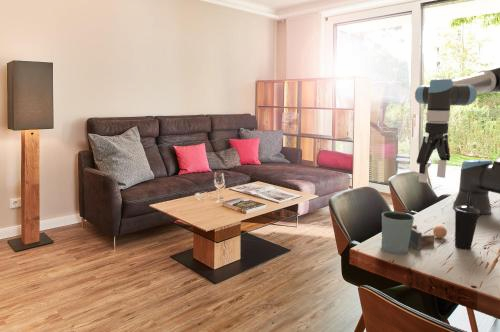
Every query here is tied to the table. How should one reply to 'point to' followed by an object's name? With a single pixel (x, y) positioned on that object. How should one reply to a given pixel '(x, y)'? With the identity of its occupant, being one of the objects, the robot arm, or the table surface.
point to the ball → (439, 231)
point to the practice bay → (420, 239)
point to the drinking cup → (465, 225)
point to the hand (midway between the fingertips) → (431, 179)
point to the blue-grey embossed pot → (396, 231)
